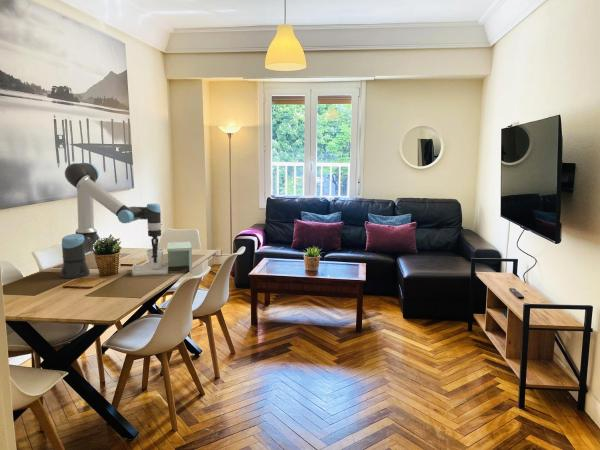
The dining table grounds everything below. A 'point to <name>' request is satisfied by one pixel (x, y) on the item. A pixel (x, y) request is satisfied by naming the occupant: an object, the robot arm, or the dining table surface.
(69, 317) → the dining table surface
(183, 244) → the pale green block
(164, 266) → the tray
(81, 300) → the dining table surface
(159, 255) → the cup
